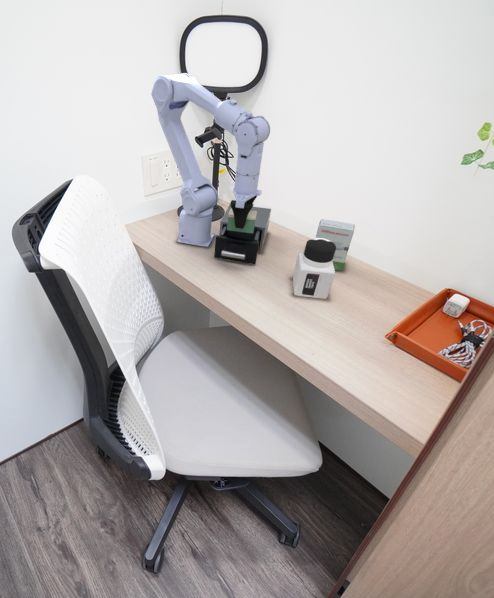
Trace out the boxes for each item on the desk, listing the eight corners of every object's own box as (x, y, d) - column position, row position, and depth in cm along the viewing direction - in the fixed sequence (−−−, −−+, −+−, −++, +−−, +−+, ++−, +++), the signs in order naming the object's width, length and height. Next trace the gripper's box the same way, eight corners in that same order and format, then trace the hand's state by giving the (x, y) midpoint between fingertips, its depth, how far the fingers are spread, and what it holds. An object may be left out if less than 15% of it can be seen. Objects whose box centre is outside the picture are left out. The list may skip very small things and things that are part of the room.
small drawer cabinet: (261, 253, 103) (265, 227, 98) (218, 246, 106) (220, 221, 102) (267, 233, 114) (271, 208, 109) (227, 227, 117) (230, 203, 112)
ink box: (343, 263, 99) (356, 223, 92) (341, 271, 96) (355, 231, 89) (310, 256, 102) (320, 217, 95) (308, 264, 99) (318, 224, 92)
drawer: (252, 272, 93) (256, 251, 90) (210, 265, 96) (211, 244, 92) (261, 243, 106) (264, 223, 102) (223, 237, 109) (225, 218, 105)
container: (327, 299, 86) (342, 252, 78) (293, 295, 87) (305, 248, 79) (323, 282, 92) (337, 236, 84) (292, 278, 93) (303, 232, 85)
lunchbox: (226, 230, 96) (228, 214, 94) (229, 223, 100) (230, 207, 97) (253, 233, 95) (255, 217, 92) (254, 226, 98) (257, 210, 96)
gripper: (259, 183, 82) (251, 237, 90) (267, 165, 93) (260, 214, 101) (229, 180, 84) (224, 233, 92) (240, 162, 95) (235, 211, 103)
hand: (241, 223), depth 97 cm, fingers closed on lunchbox, 5 cm apart
